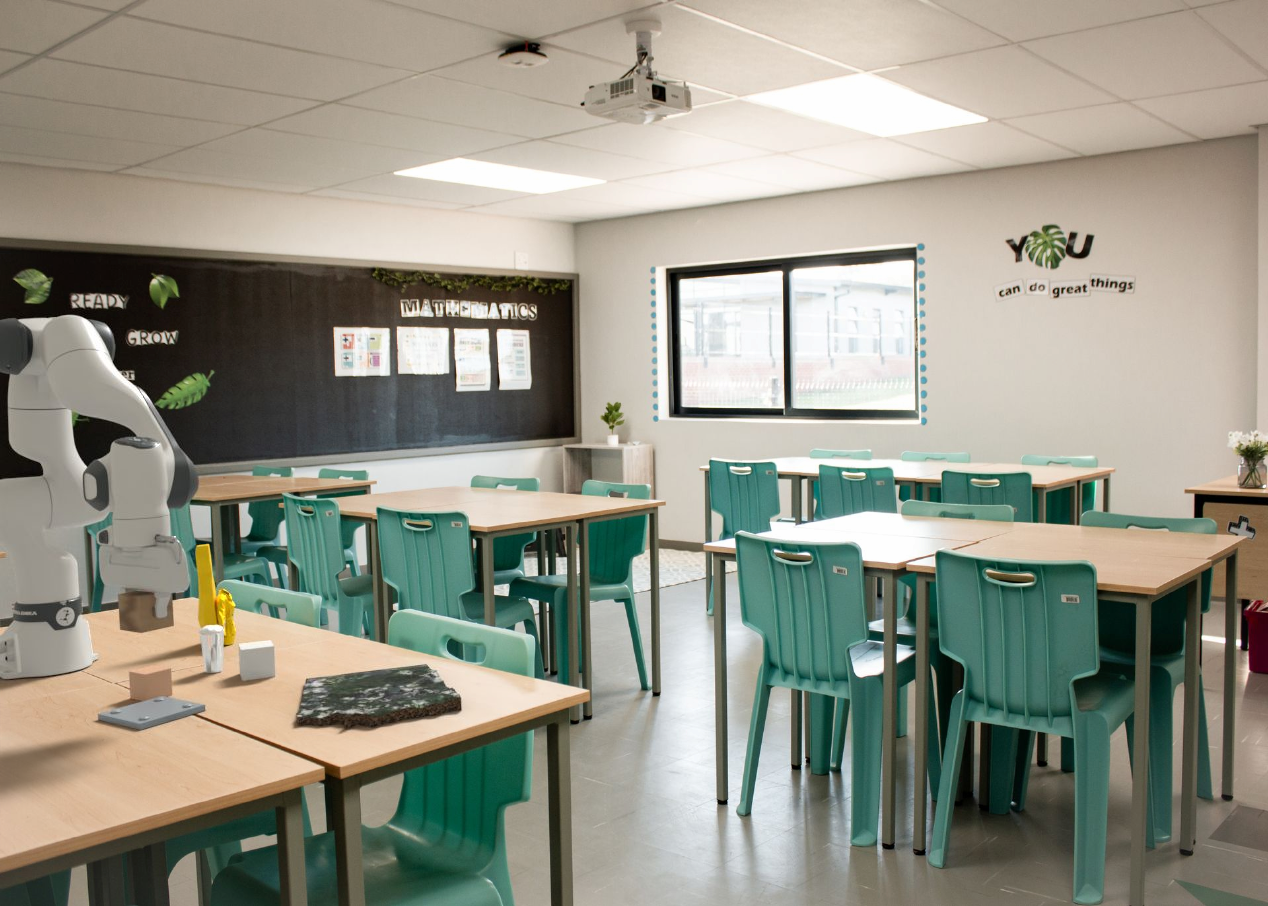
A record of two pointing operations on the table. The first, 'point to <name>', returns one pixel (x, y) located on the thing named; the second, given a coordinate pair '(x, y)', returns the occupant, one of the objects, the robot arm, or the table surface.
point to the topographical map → (376, 697)
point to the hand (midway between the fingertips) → (146, 615)
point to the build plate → (151, 712)
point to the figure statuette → (213, 597)
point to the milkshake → (212, 647)
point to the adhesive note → (256, 660)
